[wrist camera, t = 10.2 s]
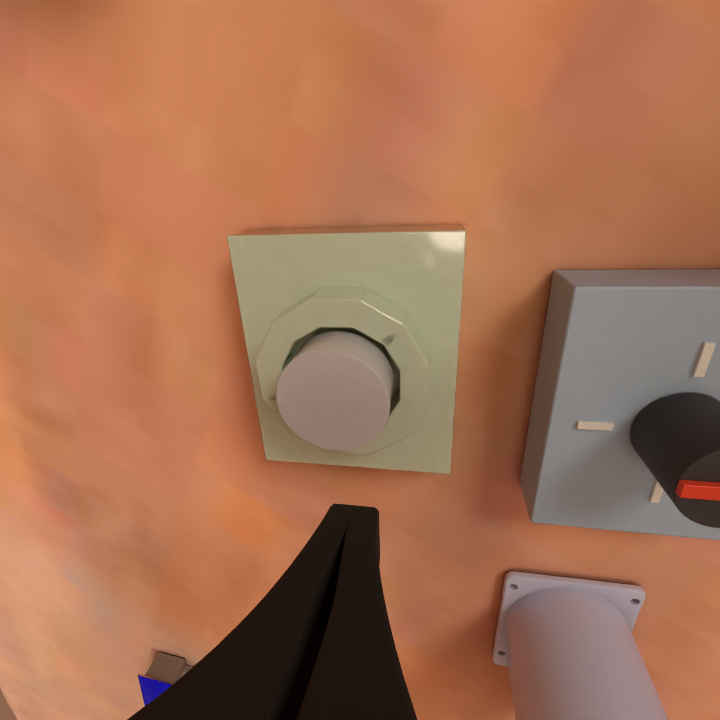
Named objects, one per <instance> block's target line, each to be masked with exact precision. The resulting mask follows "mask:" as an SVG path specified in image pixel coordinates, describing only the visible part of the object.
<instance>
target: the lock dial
mask: <svg viewBox="0 0 720 720" xmlns="http://www.w3.org/2000/svg"><path fill="white" fill-rule="evenodd" d="M630 439H631V443H632V446H633V448H634V450H635V451H636V452H637V454H638V455H639V457H640V458H641V459H642V461H643V462H644V463H645V465H646V466H647V468H648V469H649V470H650V472H651V473H652V474H653V476H654V477H655V479H656V480H657V481H658V483H659V484H660V485H661V487H662V488H663V490H664V491H665V492H666V494H667V495H668V496H669V498H670V499H671V501H672V502H673V503H674V505H675V506H676V507H677V509H678V510H679V511H680V512H681V513H682V514H683V515H684V516H685V517H687V518H688V519H690V520H691V521H693V522H695V523H698V524H701V525H703V526H708V527H713V528H720V401H719V400H717V399H716V398H714V397H711V396H709V395H706V394H701V393H692V392H688V393H677V394H672V395H669V396H666V397H663V398H661V399H658V400H656V401H655V402H653V403H651V404H650V405H648V406H647V407H646V408H644V409H643V410H642V411H641V412H640V413H639V414H638V416H637V417H636V419H635V420H634V422H633V424H632V427H631V432H630Z"/></svg>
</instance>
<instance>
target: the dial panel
mask: <svg viewBox="0 0 720 720" xmlns="http://www.w3.org/2000/svg"><path fill="white" fill-rule="evenodd" d="M688 392H692V393H701V394H706V395H709V396H711V397H714V398H716V399H717V400H719V401H720V269H624V270H554V272H553V278H552V284H551V290H550V296H549V303H548V309H547V315H546V321H545V327H544V334H543V340H542V346H541V352H540V358H539V365H538V371H537V377H536V383H535V389H534V396H533V402H532V408H531V414H530V420H529V426H528V433H527V439H526V445H525V451H524V457H523V464H522V470H521V476H520V485H521V488H522V492H523V496H524V499H525V503H526V506H527V510H528V513H529V517H530V521H531V522H532V523H541V524H552V525H562V526H573V527H584V528H594V529H605V530H615V531H626V532H637V533H647V534H658V535H668V536H679V537H690V538H700V539H711V540H720V528H713V527H708V526H703V525H701V524H698V523H695V522H693V521H691V520H690V519H688V518H687V517H685V516H684V515H683V514H682V513H681V512H680V511H679V510H678V509H677V507H676V506H675V505H674V503H673V502H672V501H671V499H670V498H669V496H668V495H667V494H666V492H665V491H664V490H663V488H662V487H661V485H660V484H659V483H658V481H657V480H656V479H655V477H654V476H653V474H652V473H651V472H650V470H649V469H648V468H647V466H646V465H645V463H644V462H643V461H642V459H641V458H640V457H639V455H638V454H637V452H636V451H635V450H634V448H633V446H632V443H631V439H630V432H631V427H632V424H633V422H634V420H635V419H636V417H637V416H638V414H639V413H640V412H641V411H642V410H643V409H644V408H646V407H647V406H648V405H650V404H651V403H653V402H655V401H656V400H658V399H661V398H663V397H666V396H669V395H672V394H677V393H688Z"/></svg>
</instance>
